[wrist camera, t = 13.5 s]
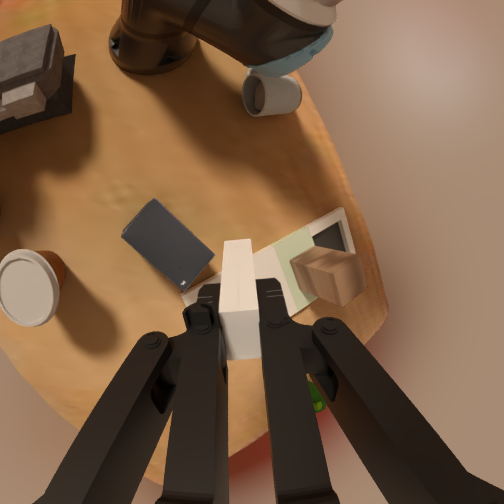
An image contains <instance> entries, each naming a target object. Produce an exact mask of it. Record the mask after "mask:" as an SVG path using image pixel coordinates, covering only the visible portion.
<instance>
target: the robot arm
mask: <svg viewBox="0 0 504 504" xmlns="http://www.w3.org/2000/svg"><path fill="white" fill-rule="evenodd" d="M341 1H342V0H122V6H121V15H120V16H119V18H118V20H117V21H116V23H115V25H114V26H113V28H112V30H111V33H110V36H109V52H110V55H111V57H112V59H113V61H114V62H115V63H116V64H117V65H118V66H119V67H121V68H122V69H124V70H126V71H128V72H131V73H135V74H140V75H154V74H161V73H164V72H168V71H170V70H172V69H174V68H176V67H178V66H179V65H181V64H182V63H183V62H185V61H186V60H187V58H188V57H189V56H190V54H191V52H192V51H193V49H194V47H195V44H196V41H197V38H199V39H201V40H203V41H205V42H207V43H208V44H210V45H212V46H214V47H216V48H217V49H219V50H221V51H223V52H224V53H226V54H228V55H229V56H231V57H233V58H234V59H236V60H237V61H239V62H241V63H242V64H243V65H244V66H246V67H248V68H252V69H254V70H255V71H257V72H259V73H261V74H262V75H264V76H267V77H271V78H275V77H281V76H285V75H287V74H289V73H291V72H293V71H295V70H297V69H299V68H300V67H302V66H303V65H305V64H306V63H307V62H309V61H310V60H311V59H312V58H313V56H314V55H315V54H317V53H319V52H320V51H321V50H322V49H323V48H324V47H325V46H326V45H327V44H328V43H329V41H330V40H331V38H332V35H333V29H332V27H331V25H332V24H333V23H334V22H335V21H336V5H337V4H338V3H339V2H341ZM182 314H183V318H184V321H185V325H186V328H187V330H186V332H184V333H183V334H180V335H178V336H174V337H170V338H168V336H167V335H166V334H164V333H162V332H155V331H153V332H150V333H147V334H145V335H143V336H142V337H141V338H140V339H139V340H138V341H137V343H136V344H135V346H134V347H133V349H132V350H131V352H130V353H129V355H128V356H127V358H126V359H125V361H124V362H123V364H122V365H121V367H120V368H119V370H118V371H117V373H116V374H115V376H114V377H113V379H112V381H111V382H110V384H109V385H108V387H107V388H106V390H105V391H104V393H103V395H102V396H101V398H100V399H99V401H98V402H97V404H96V406H95V407H94V409H93V410H92V412H91V414H90V415H89V417H88V418H87V420H86V422H85V423H84V425H83V427H82V428H81V430H80V432H79V433H78V435H77V437H76V438H75V440H74V442H73V443H72V445H71V447H70V449H69V450H68V452H67V454H66V455H65V457H64V459H63V461H62V462H61V464H60V466H59V468H58V470H57V471H56V473H55V475H54V477H53V479H52V480H51V482H50V484H49V486H48V488H47V489H46V491H45V494H44V495H43V496H41V497H40V498H39V499H38V500H36V501H35V502H34V503H33V504H131V502H132V500H133V498H134V495H135V493H136V491H137V489H138V486H139V484H140V482H141V480H142V477H143V475H144V473H145V470H146V468H147V466H148V464H149V461H150V459H151V457H152V455H153V452H154V450H155V448H156V446H157V443H158V441H159V439H160V437H161V434H162V432H163V430H164V428H165V426H166V423H167V421H168V419H169V417H170V414H171V412H172V410H173V412H172V419H171V426H170V433H169V441H168V449H167V457H166V465H165V474H164V484H163V493H162V496H161V497H160V498H159V499H158V500H157V501H156V502H155V504H229V474H228V473H229V472H228V367H227V359H228V360H243V359H255V358H262V370H263V379H264V389H265V399H266V409H267V419H268V429H269V439H270V448H271V458H272V467H273V478H274V488H275V497H276V504H340V502H339V499H338V496H337V494H336V493H335V491H334V490H333V489H332V486H331V482H330V477H329V472H328V468H327V463H326V459H325V454H324V449H323V445H322V441H321V436H320V432H319V428H318V423H317V418H316V414H315V410H314V405H313V401H312V397H311V393H310V388H309V384H308V380H307V376H306V373H307V374H309V376H310V378H311V379H312V381H313V383H314V384H315V386H316V388H317V389H318V391H319V392H320V394H321V396H322V397H323V399H324V401H325V402H326V404H327V406H328V407H329V409H330V411H331V412H332V414H333V415H334V417H335V419H336V420H337V422H338V424H339V425H340V427H341V429H342V430H343V432H344V433H345V435H346V437H347V438H348V440H349V441H350V443H351V445H352V446H353V448H354V449H355V451H356V453H357V454H358V456H359V458H360V459H361V460H362V462H363V464H364V466H365V467H366V469H367V470H368V472H369V473H370V475H371V477H372V478H373V480H374V481H375V483H376V484H377V486H378V488H379V489H380V491H381V492H382V494H383V495H384V497H385V499H386V500H387V502H388V503H389V504H504V490H502V489H500V488H498V487H496V486H493V485H492V484H489V483H488V482H486V481H484V480H481V479H480V478H478V477H476V476H474V475H472V474H471V473H469V472H467V471H466V470H465V468H464V467H463V466H462V465H461V463H460V462H459V460H458V459H457V458H456V457H455V455H454V454H453V453H452V451H451V450H450V449H449V448H448V446H447V445H446V444H445V443H444V441H443V440H442V439H441V438H440V436H439V435H438V434H437V433H436V431H435V430H434V429H433V428H432V426H431V425H430V424H429V423H428V422H427V421H426V419H425V418H424V417H423V415H422V414H421V413H420V412H419V411H418V409H417V408H416V407H415V406H414V404H412V402H411V401H410V400H409V399H408V397H407V396H406V395H405V394H404V392H403V391H402V390H401V389H400V388H399V386H398V385H397V384H396V383H395V382H394V380H393V379H392V378H391V377H390V376H389V375H388V373H387V372H386V371H385V370H384V369H383V367H382V366H381V365H380V364H379V363H378V362H377V360H376V359H375V358H374V357H373V356H372V355H371V353H370V352H369V351H368V350H367V349H366V348H365V346H364V345H363V344H362V343H361V342H360V341H359V339H358V338H357V337H356V336H355V335H354V334H353V332H352V331H351V330H350V329H349V328H348V327H347V326H346V324H345V323H344V322H342V321H341V320H339V319H337V318H333V317H325V318H321V319H319V320H317V321H316V322H315V323H314V324H313V326H310V325H303V324H299V323H296V322H295V321H293V320H292V319H291V317H290V316H289V314H288V310H287V306H286V302H285V298H284V295H283V291H282V287H281V283H280V282H279V281H278V280H277V279H276V278H265V279H255V273H254V265H253V256H252V247H251V239H242V240H230V241H225V242H224V253H223V264H222V276H221V283H214V284H204V285H203V286H202V287H201V288H200V289H199V291H198V298H197V302H196V303H193V304H191V305H189V306H188V307H186V308H185V309H184V311H183V313H182Z"/></svg>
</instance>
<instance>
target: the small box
mask: <svg viewBox="0 0 504 504" xmlns="http://www.w3.org/2000/svg"><path fill="white" fill-rule="evenodd" d="M121 237H122V238H123V239H124V240H125V241H126V242H127V243H128V244H129V245H130V246H132V247H133V248H134V249H135V250H136V251H137V252H138V253H139V254H140V255H142V256H143V257H144V258H145V259H146V260H147V261H148V262H149V263H151V264H152V265H153V266H154V267H155V268H156V269H157V270H159V271H160V272H161V273H162V274H163V275H164V276H166V277H167V278H168V279H169V280H170V281H172V282H173V283H174V284H175V285H176V286H178V287H179V288H180V289H181V290H182V291H186V290H187V288H188V287H189V286H190V284H191V283H192V282H193V281H194V280H195V279H196V277H197V276H198V275H199V274H200V273H201V272H202V270H203V269H204V268H205V267H206V266H207V264H208V263H209V262H210V261H211V260H212V259H213V257H214V256H215V254H214V253H213V252H212V251H211V250H210V249H209V248H208V247H206V246H205V245H204V244H203V243H202V242H201V241H200V240H199V239H198V238H197V237H196V236H195V235H194V234H193V233H192V232H191V231H190V230H189V229H187V228H186V227H185V226H184V225H183V224H182V223H181V222H180V221H179V220H178V219H177V218H176V217H175V216H174V215H173V214H172V213H171V212H170V211H169V210H167V209H166V208H165V207H164V206H163V205H162V204H161V203H160V202H159V201H158V200H157V199H156V198H154V199H152V200H151V201H150V202H148V203H147V204H146V205H145V206H144V207H143V208H142V209H141V211H140V212H139V213H138V214H137V215H136V216H135V217H134V218H133V219H132V221H131V222H130V223H129V224H128V225H127V226H126V228H125V229H124V230H123V233H122V235H121Z"/></svg>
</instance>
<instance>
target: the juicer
mask: <svg viewBox="0 0 504 504" xmlns="http://www.w3.org/2000/svg"><path fill="white" fill-rule="evenodd" d="M75 56H76V54H74V55H69V56H65V57H64V49H63V46H62V42H61V39H60V35H59V32H58V30H57V29H55V28H54V27H52V26H51V24H49V25H45V26H42V27H39V28H36V29H33V30H30V31H27V32H24V33H21V34H19V35H16V36H13V37H11V38H8V39H6V40H3V41H1V42H0V134H3V133H6V132H9V131H11V130H14V129H17V128H20V127H23V126H26V125H29V124H33V123H36V122H39V121H43V120H46V119H50V118H54V117H58V116H61V115H66V114H70V113H72V89H73V75H74V65H75Z"/></svg>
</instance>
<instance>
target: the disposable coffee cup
mask: <svg viewBox="0 0 504 504" xmlns="http://www.w3.org/2000/svg"><path fill="white" fill-rule="evenodd" d="M64 279H65V267H64V263H63V262H62V260H61V258H60V257H59V256H58V255H57V254H56V253H54V252H51V251H31V250H28V249H19V250H15V251H12V252H10V253H9V254H8V255H6V256H5V257H4V259H3V260H2V261H1V263H0V306H1V308H2V310H3V311H4V313H5V314H6V315H7V316H8V317H9V318H10V319H11V320H12V321H13V322H15V323H17V324H19V325H22V326H26V327H36V326H41V325H43V324H45V323H46V322H48V321H49V320H50V319H51V318H52V317H53V315H54V314H55V312H56V310H57V307H58V303H59V297H60V295H59V293H60V290H61V287H62V284H63V281H64Z"/></svg>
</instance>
